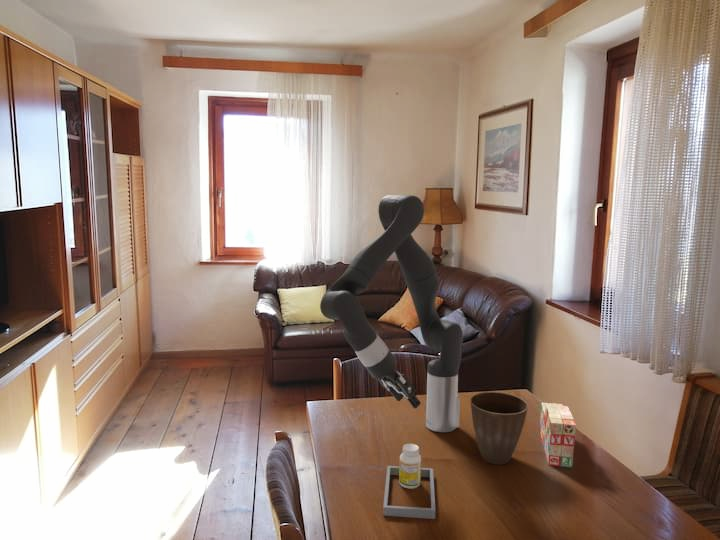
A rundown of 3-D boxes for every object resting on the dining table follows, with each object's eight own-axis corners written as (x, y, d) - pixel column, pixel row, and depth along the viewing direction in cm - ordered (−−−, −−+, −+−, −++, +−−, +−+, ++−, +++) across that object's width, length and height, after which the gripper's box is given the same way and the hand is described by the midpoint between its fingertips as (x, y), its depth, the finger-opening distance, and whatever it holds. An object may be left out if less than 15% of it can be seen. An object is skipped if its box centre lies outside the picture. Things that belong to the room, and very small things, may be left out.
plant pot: (534, 457, 151) (537, 402, 149) (507, 478, 141) (510, 418, 138) (486, 440, 161) (488, 387, 159) (457, 458, 151) (459, 402, 148)
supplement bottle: (412, 491, 134) (413, 454, 133) (394, 484, 138) (395, 447, 136) (424, 482, 138) (425, 446, 137) (407, 475, 142) (408, 440, 140)
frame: (387, 473, 143) (387, 465, 142) (432, 475, 142) (432, 468, 141) (383, 515, 124) (383, 507, 124) (435, 519, 123) (435, 510, 123)
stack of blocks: (539, 431, 168) (541, 392, 166) (560, 433, 167) (563, 394, 165) (548, 465, 147) (551, 422, 146) (573, 468, 146) (576, 424, 144)
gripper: (399, 349, 135) (433, 398, 139) (372, 342, 148) (405, 387, 152) (377, 370, 133) (413, 419, 137) (352, 361, 145) (385, 406, 150)
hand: (408, 402), depth 145 cm, fingers open, 8 cm apart
